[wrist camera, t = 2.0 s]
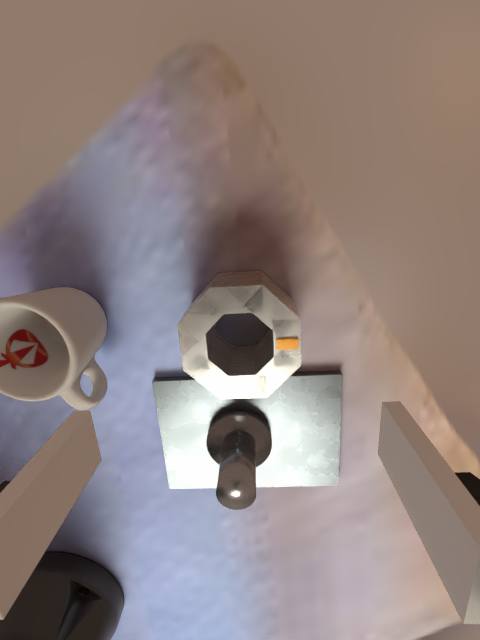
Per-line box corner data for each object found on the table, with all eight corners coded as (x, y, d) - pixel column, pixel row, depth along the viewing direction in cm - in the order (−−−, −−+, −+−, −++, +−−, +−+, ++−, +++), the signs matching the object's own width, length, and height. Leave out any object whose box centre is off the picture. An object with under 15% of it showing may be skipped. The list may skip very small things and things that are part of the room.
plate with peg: (171, 483, 37) (149, 554, 29) (154, 377, 33) (124, 428, 25) (336, 479, 36) (359, 552, 28) (340, 370, 32) (367, 420, 24)
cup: (152, 358, 32) (121, 404, 24) (87, 393, 34) (39, 446, 26) (83, 260, 29) (24, 278, 22) (16, 302, 31) (-61, 333, 23)
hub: (198, 366, 32) (186, 401, 26) (188, 274, 29) (172, 290, 23) (292, 363, 32) (301, 397, 26) (291, 268, 29) (300, 283, 23)
